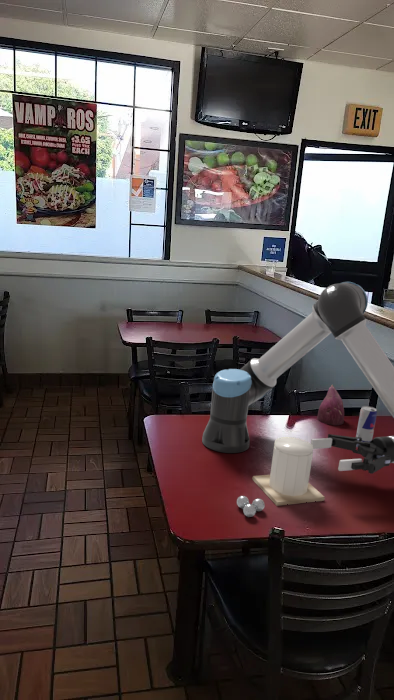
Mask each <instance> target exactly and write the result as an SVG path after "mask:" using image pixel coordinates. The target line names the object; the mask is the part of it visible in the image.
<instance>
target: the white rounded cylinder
mask: <svg viewBox="0 0 394 700" xmlns="http://www.w3.org/2000/svg"><path fill="white" fill-rule="evenodd" d="M313 455H314V449H313V446H312V445H311V442H309V441H307V440H306V439H305V440H304V439H302V438H297V437H292V436H281V437H277V438H276V439H275V440H274V445H273V451H272V458H271V468H270V474H269V475H270V480H269V486H270V487H271V488H272V489H273V490H274V491H276V492H279V493H281V494H284V495H290V496H299V495H303V494H305V493H306V492H307V489H308V483H310V482H309V481H310V476H311V475H310V474H311V468H312V463H313V461H312V460H313Z"/></svg>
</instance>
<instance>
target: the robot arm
mask: <svg viewBox="0 0 394 700" xmlns="http://www.w3.org/2000/svg"><path fill="white" fill-rule="evenodd" d="M368 300H369V299H368V294H367V292H366V291H365V289H363V287H362V286H361V285H359V284H356V283H355V282H351V281H343V282H340V283H334V284H331V285H329V286H327V287H326V288H324V289H323V290H322V291H321V293H320V295H319V296H318V299H317V300H316V302H315V303H314V304H312V307H311V308H312V311H311V313H310V314H308V315H307V316H306V317H304V319H303V320H301V322H299V323H298V324H297V325H296V326H295V327H294V328H293V329H291V330H290V331H289V332H288V333H287V334H285V335H284V337H282V338H281V339H280V340H279V341H277V343H275V345H273V346H272V347H270V348H269V350H267V351H266V352H264V354H262V356H260V358H255V357H254V358H251V359H250V360H249V361H248V362H247V363H246V364H245V365H243V366H242V367H241V368H240V369H239V368H238V369H237V368H228V369H222V370H220V371H218V372H216V374H215V375H214V377H213V383H212V393H211V403H210V404H211V405H210V414H209V415H210V416H209V420H208V422H207V425H206V426H205V428H204V430H203V433H202V439H201V440H202V444H203V445H204V446H205V447H207V449H210V450H213V451H215V452H219V453H225V454H238V453H242V452H245V451H247V450H248V449H249V448H250V442H251V441H250V435H249V430H248V425H247V418H248V412H249V406H250V405H252V404H254V403H256V402H257V401H259V400H261V399H263V398H264V397H265V396H266V395H267V394H268V392H269V391H270V390H272V389H273V388H274V387H275V386H276V385H277V379H278V378H279V377H280V376H281V375H282V374H284V373H285V372H286V371H288V370H289V369H290V368H291V367H292V366H294V364H296V363H297V362H298V361H299V360H301V358H303V357H304V356H305V355H307V354H308V353H309V352H311V351H312V349H314V348H315V347H317V345H319V344H320V343H321V342H322V341H323V340H325V338H327V337H328V336H330V335H331V334H332V336H333V337H334V338H335V340H339V341H341V342H342V344H343V345H344V346H345V348H346V350H347V352H348V353H349V354H350V355H351V357H352V359H353V360H354V362H355V363H356V364H357V366H358V368H359V369H360V370H361V372H362V373H363V375H364V376H365V378H366V380H367V381H368V383H370V385H371V387H372V389H373V390H374V391H375V392H376V394H377V395H378V398H380V400H381V402H382V403H383V405H384V407H385V408H386V409H387V410H388V412H389V413H390V415H391V416H392V418H393V419H394V365H393V364H392V362H391V360H390V359H389V358H388V356H387V354H386V353H385V351H384V350H383V349H382V347H381V346H380V344H379V343H378V341H377V340H376V338H375V337H374V336H373V334H372V333H371V331H370V330H369V328H368V327H367V318H366V317H365V316H364V314H365V312H366V310H367V309H368V303H369V301H368ZM310 444H311V445H312V446H313V450H318V449H331V448H332V447H334V448H338V449H341V450H342V449H343V450H346V451H347V450H348V451H350V452H352V453H353V454H357V455H361V456H362V457H363V459H362V458H352V459H351V458H350V459H349V458H348V459H340V460H339V463H338V468H337V470H338V471H339V472H343V471H344V472H345V471H357V470H362V471H365V472H366V471H367V472H368V474H375V473H376V472H378V471H379V470H381V469H383V468H385V467H389V466H390V464H394V435H388V436H376V437H373V438H372V441H371V442H366V441H365V442H362V438H361V437H356V436H355V437H354V436H346V435H339V434H331V433H329V434H327V437H326V438H323V437H321V438H311V440H310Z"/></svg>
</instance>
